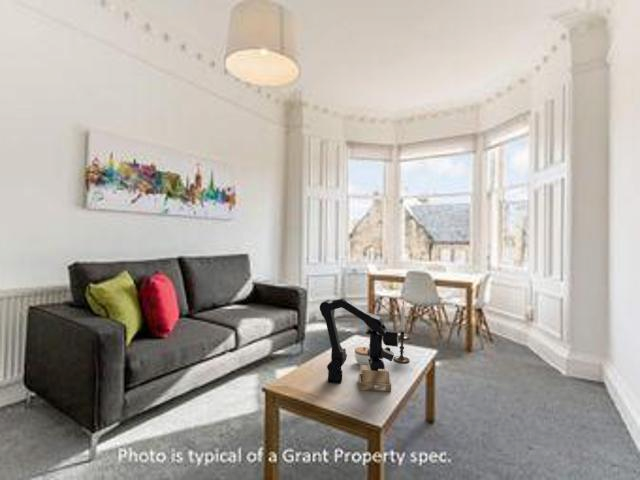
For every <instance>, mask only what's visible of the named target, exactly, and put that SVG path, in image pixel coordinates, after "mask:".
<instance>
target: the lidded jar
mask: <svg viewBox="0 0 640 480" xmlns="http://www.w3.org/2000/svg"><path fill="white" fill-rule="evenodd" d="M369 349H370V347H369V346H367V347H366V346H359V347H355V349H354V357H355V360H356V362H357V364H358V365H359V366H360V365H369V360H368V359H370V357H369V356H367V351H368V350H369Z"/></svg>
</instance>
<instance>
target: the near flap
mask: <svg viewBox="0 0 640 480" xmlns="http://www.w3.org/2000/svg"><path fill="white" fill-rule="evenodd" d="M361 374H362V382H379V383H389V378H390V371H389V370H388V371H387V370H386V371H372V370H362V373H361Z"/></svg>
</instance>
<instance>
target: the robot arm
mask: <svg viewBox="0 0 640 480" xmlns="http://www.w3.org/2000/svg"><path fill="white" fill-rule="evenodd" d="M341 308H342V309H344V310H345V311H347V312H349V313H350V314H352V315H353V316H355V317H357V318H358V319H360V320H362V322H364V324H365V325H366V327H368V328H369V329H368V330H366V332H365V334H366V335H369V344H368V348H370V349H369V350H368V351H367V356H369V357H370V359H368V360H369V365H370V368H371V370H372V371H378V369H384V366H385V363H384V359H385V360H388V361H389V362H393V358H394V357H395V354H394V352H393V351H391V347H396V348H398V346H399V341H400V340H399V337H398V333H399V330H398V331H397V330H394V331H393V330H388V329H387V327H386V326H385V324H384V320H383V319H384V318H382V317H381V316H379V315H377V314H374V313H370V312H368V311H366V310H364V309H363V308H361V307H359V306H358V305H356V304H355V303H353V302H351V301H349V300H348V299H347V298H346V297H342V298H340V299H333V300H331V299H326V300H324V301H322V302H321V303H320V305H319V311H320V313H321V316H322V317H323V318H324V321H325V324H326V328H327V333H328V338H329V342H330V346H331V355H330V358H331V361H329V363H328V364H327V365H326V368H327V376H328V377H327V383H329V384H330V383H332V384H342V382H343V370H342V367H343V365H344V363H346V361H347V357H348V354H347V352H346V351H347V350H346V348H343V347H342V345H341V343H340V337H339V333H338V329H337V324H336V320H335V313H336V312H335V311H336V310H337V309H341ZM383 345H385V346H386V347H385V348H384V347H383Z"/></svg>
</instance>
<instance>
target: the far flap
mask: <svg viewBox="0 0 640 480" xmlns="http://www.w3.org/2000/svg"><path fill="white" fill-rule="evenodd" d="M359 366H360V369H359V370H360V373H361V374H362V370H371V368H370V365H359ZM378 371H387V370H386V366H385V365H384V369H378Z"/></svg>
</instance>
